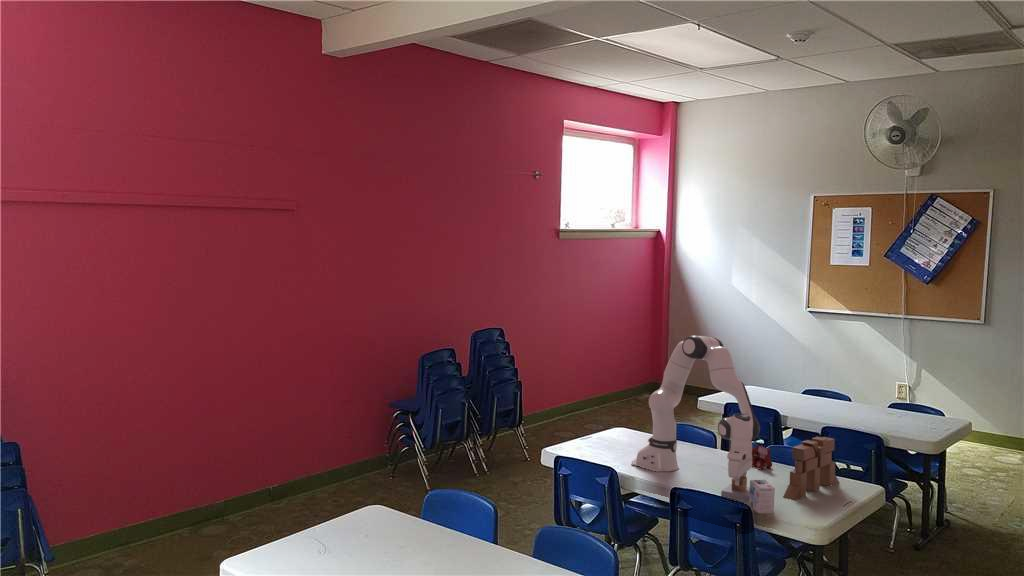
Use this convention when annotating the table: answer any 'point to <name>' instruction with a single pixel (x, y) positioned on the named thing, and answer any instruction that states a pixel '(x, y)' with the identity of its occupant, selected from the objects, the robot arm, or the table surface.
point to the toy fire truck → (761, 457)
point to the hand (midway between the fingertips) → (740, 483)
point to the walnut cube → (742, 484)
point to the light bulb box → (761, 496)
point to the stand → (736, 493)
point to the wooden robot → (811, 467)
